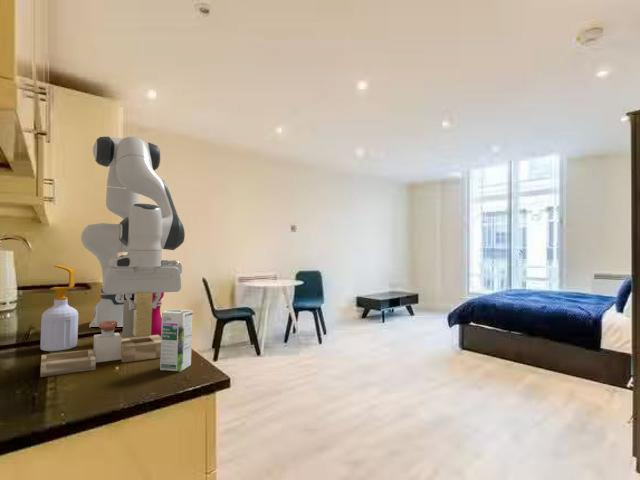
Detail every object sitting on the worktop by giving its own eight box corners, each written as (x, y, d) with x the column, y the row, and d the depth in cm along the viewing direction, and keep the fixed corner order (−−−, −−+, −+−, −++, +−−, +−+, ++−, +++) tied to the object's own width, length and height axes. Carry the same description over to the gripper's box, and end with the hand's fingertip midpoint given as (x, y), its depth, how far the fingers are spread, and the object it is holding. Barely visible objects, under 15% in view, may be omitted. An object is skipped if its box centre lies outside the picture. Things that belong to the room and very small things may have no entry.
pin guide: (93, 357, 105) (94, 335, 105) (117, 354, 109) (118, 332, 109) (95, 362, 100) (96, 339, 100) (120, 359, 104) (121, 336, 104)
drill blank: (133, 333, 109) (134, 291, 110) (148, 332, 112) (149, 290, 112) (135, 336, 106) (137, 293, 106) (151, 334, 108) (152, 292, 109)
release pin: (96, 355, 105) (98, 322, 105) (114, 353, 108) (116, 320, 108) (98, 359, 101) (99, 324, 102) (117, 357, 104) (118, 323, 104)
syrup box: (158, 370, 95) (160, 311, 95) (171, 363, 101) (173, 308, 101) (180, 372, 94) (182, 312, 95) (191, 365, 100) (193, 309, 100)
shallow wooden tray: (41, 364, 97) (41, 355, 97) (91, 358, 104) (91, 349, 104) (40, 377, 88) (40, 366, 88) (95, 369, 95) (95, 359, 95)
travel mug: (150, 340, 126) (152, 285, 126) (123, 342, 121) (125, 285, 122) (147, 335, 132) (148, 283, 133) (121, 337, 128) (123, 283, 129)
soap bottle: (46, 344, 117) (50, 264, 118) (81, 343, 120) (83, 264, 120) (34, 352, 108) (38, 265, 109) (72, 350, 111) (75, 265, 112)
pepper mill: (155, 347, 116) (157, 281, 117) (134, 346, 118) (136, 280, 118) (169, 342, 123) (171, 279, 124) (149, 340, 125) (151, 279, 125)
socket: (117, 352, 110) (117, 338, 110) (157, 347, 116) (158, 334, 116) (122, 362, 101) (123, 347, 101) (166, 356, 107) (167, 342, 107)
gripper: (179, 259, 118) (177, 305, 118) (103, 259, 106) (101, 309, 106) (185, 260, 113) (183, 308, 112) (105, 260, 101) (103, 313, 101)
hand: (142, 309), depth 109 cm, fingers closed on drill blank, 4 cm apart
